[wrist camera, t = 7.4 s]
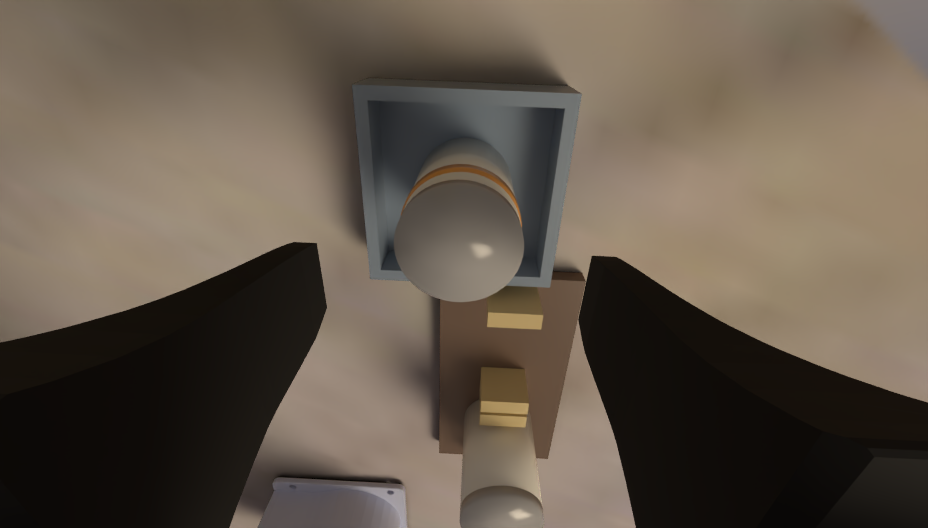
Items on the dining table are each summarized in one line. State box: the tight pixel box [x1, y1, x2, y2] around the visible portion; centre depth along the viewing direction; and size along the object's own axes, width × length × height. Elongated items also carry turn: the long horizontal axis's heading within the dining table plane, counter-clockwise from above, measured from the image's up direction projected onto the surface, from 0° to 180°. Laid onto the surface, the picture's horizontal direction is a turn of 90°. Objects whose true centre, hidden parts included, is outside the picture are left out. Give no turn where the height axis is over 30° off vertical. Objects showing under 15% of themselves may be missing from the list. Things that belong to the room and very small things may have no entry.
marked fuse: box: [394, 138, 524, 302], centre depth 15 cm, size 4×4×6 cm
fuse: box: [460, 399, 544, 528], centre depth 22 cm, size 4×4×6 cm
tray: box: [352, 78, 582, 288], centre depth 17 cm, size 8×8×2 cm
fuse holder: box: [439, 272, 586, 459], centre depth 22 cm, size 7×14×3 cm, turn 178°
